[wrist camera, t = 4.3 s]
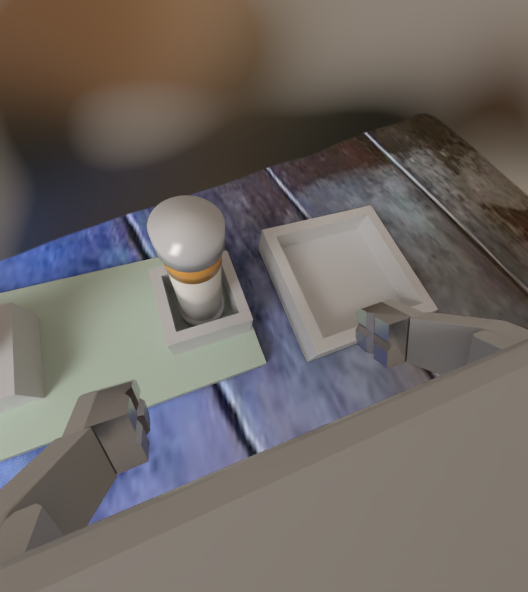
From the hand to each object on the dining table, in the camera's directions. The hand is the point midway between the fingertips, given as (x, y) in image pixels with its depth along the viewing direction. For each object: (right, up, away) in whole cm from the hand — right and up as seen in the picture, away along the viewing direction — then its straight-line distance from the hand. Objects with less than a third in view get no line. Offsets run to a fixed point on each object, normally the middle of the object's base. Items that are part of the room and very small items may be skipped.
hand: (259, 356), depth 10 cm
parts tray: (+7, +3, +17) cm, 19 cm away
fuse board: (-12, -1, +12) cm, 17 cm away
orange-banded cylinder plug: (-5, +1, +13) cm, 14 cm away
